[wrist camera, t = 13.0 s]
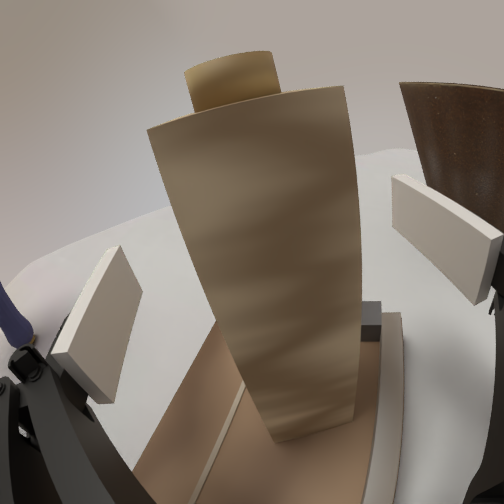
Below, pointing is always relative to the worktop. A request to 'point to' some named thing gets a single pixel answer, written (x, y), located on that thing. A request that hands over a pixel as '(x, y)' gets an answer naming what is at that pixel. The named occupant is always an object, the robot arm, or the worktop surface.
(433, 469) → the worktop surface
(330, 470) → the walnut board
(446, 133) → the plant pot
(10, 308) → the rubber mallet
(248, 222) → the beige tall block
